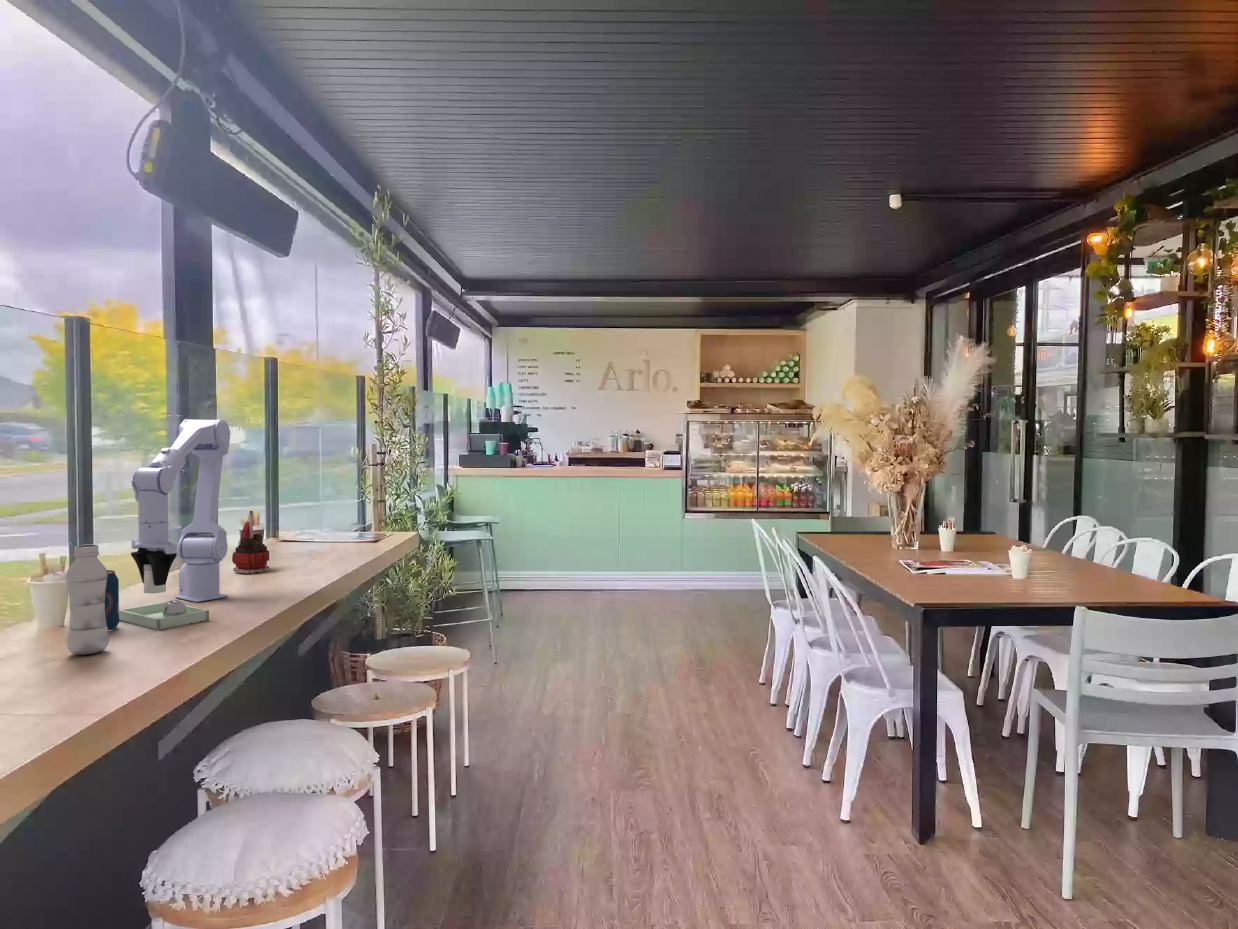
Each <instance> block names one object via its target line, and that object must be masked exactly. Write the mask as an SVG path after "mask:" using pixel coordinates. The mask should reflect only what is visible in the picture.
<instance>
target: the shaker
mask: <svg viewBox="0 0 1238 929" xmlns="http://www.w3.org/2000/svg"><path fill="white" fill-rule="evenodd" d="M166 591H167V583H166V584H165V585H159V586H155V585H154V581H153V574H152V568H151V565H150V564H144V583H143V593H144V594H160V593H165V592H166Z"/></svg>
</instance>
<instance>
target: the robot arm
mask: <svg viewBox="0 0 1238 929" xmlns="http://www.w3.org/2000/svg"><path fill="white" fill-rule="evenodd" d="M178 428H179V429H178V431H179V433H178V434H179V435H178V436H177V438H176V439H175V440H174V442H173V443H172V445H171V447H163V448H161V450H160V452H158V454H157V455H156V456H155V457H154V458H153V459H152V461H150V463H148V464H147V465H146V466H145V467H140V468H138V469H137V470H135V472H134V473H133V476H132V479H131V487H132V490H133V491H134V500H135V501H136V502H137V508H138V509H137V510H138V511H137V513H138V514H137V515H138V516H137V517H138V521H137V522H138V538H137V539H131V549H133V550H136V549H137V551H132V552H130V556H131V557H132V558H133V560H134V562H135V564H136V566H137V569H138V571H139V575H140V577H141V578H140V579H141V582H142V584H144V564H150V565H151V568H152V574H153V581H154V585H155V586H159V585H165V584H166V585H167V580H168V577H169V573H170V571H171V570H170V569H171V567H172V565H173V563H174V561H175V559H176V558H177V556H178V557H179V558H180V559H181V560H182V562H183V564H182V565H181V566H180V568H179V571H178V594H177V595H175V598H176V599H180V600H185V601H190V602H194V603H195V602H196V603H199V602H205V601H211V600H217V599H222V598H227V597H228V594H225V593H220V591H221V590H220V588H221V587H220V562H222V561H223V560H224V559H225V557H226V555H227V552H228V541H227V539H228V538H227V536H228V534H227V531H226V530H225V528H223V527H222V526H221V525H220V524H218V523H217V517H218V516H217V515H218V508H219V506H218V505H219V497H220V489H221V479H222V470H223V469H222V468H223V459H224V456H226V455H228V453H229V449H230V440H231V430H230V427H229V424H228V423H227V421H226V420H225V419H223V418H221V419H191V418H184V419H183V421H182V422H181V423H180V424H179V427H178ZM190 453H191V454H192V455H195V456H197V457H198V458H199V467H198V475H197V476H198V477H197V484H196V491H195V492H196V494H195V502H194V511H193V520H192V522H191V523H189V524H188V525H186V526H185V527H184V528H183V529H182V530H181V534H180V539H179V540H178V543H177V544H176V543H173V542H171V541H170V540H169V539H170V538H169V535H170V534H169V532H170V531H169V529H170V528H169V527H170V526H169V525H170V524H169V493H171V492H172V491H173V489H174V485H175V481H176V479H177V477H176V476H177V475H178V473H179V472H180V471H181V470H182V469H183V468H184V466H186V461H187V460H186V456H188V455H189V454H190Z"/></svg>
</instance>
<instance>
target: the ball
mask: <svg viewBox="0 0 1238 929" xmlns="http://www.w3.org/2000/svg"><path fill="white" fill-rule="evenodd" d="M166 602H167V603H166V604H165V605H164V607H163V609H162V614H163V617H164V618H166V617H172V616H177V615H182V614H186V611H187V609H186V606H185V605H186V604H185V603H184V602H183V601H181V600H178V599H173V600H170V601H169V602H168V601H166Z"/></svg>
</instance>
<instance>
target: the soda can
mask: <svg viewBox="0 0 1238 929" xmlns="http://www.w3.org/2000/svg"><path fill="white" fill-rule="evenodd" d="M106 570H107V583H106V590H105V601H104V603H105V617H106V626H107V628H108V631H109V630H112V631H114V630H115V629H116V628H117V627H118V625H119V623H120V621H119V610H120V596H119V595H120V593H119V592H120V590H119V589H120V587H119V585H120V583H119V577H118V576H117V574H116V571H115V570H114V569H113V570H112V569H106ZM109 632H110V631H109Z"/></svg>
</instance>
